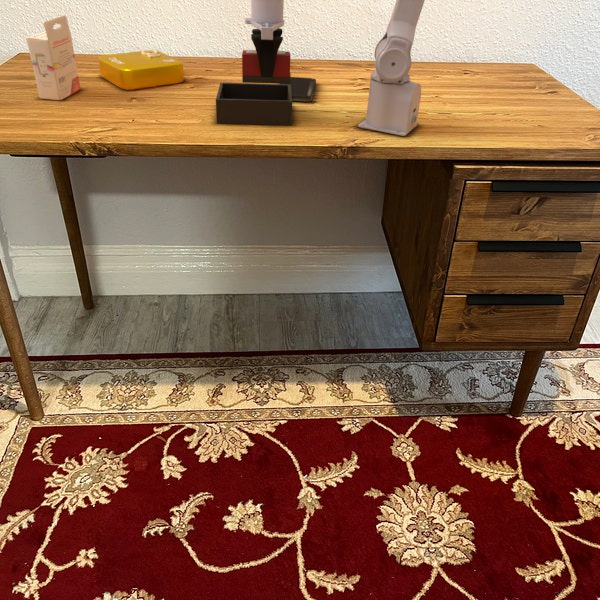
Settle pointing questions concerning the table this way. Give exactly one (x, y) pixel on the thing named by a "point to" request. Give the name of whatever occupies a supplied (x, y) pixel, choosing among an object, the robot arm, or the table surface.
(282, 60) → the red and black box
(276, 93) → the bin
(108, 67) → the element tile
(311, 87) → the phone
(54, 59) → the ink cartridge box
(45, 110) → the table surface
